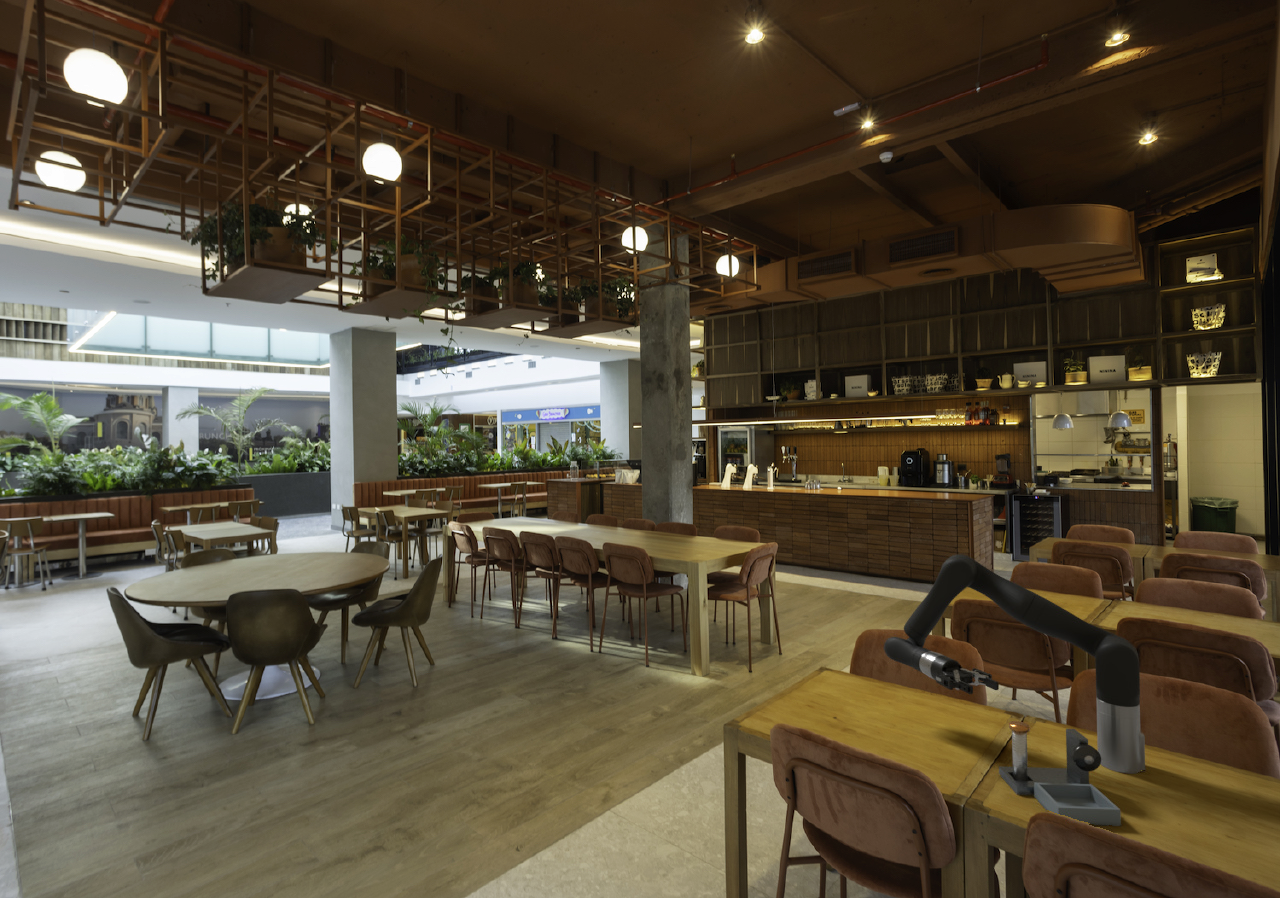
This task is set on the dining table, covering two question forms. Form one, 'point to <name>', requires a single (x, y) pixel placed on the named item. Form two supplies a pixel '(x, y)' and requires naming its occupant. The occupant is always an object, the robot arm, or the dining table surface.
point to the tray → (1078, 802)
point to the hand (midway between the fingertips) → (985, 688)
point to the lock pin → (1019, 750)
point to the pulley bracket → (1077, 770)
